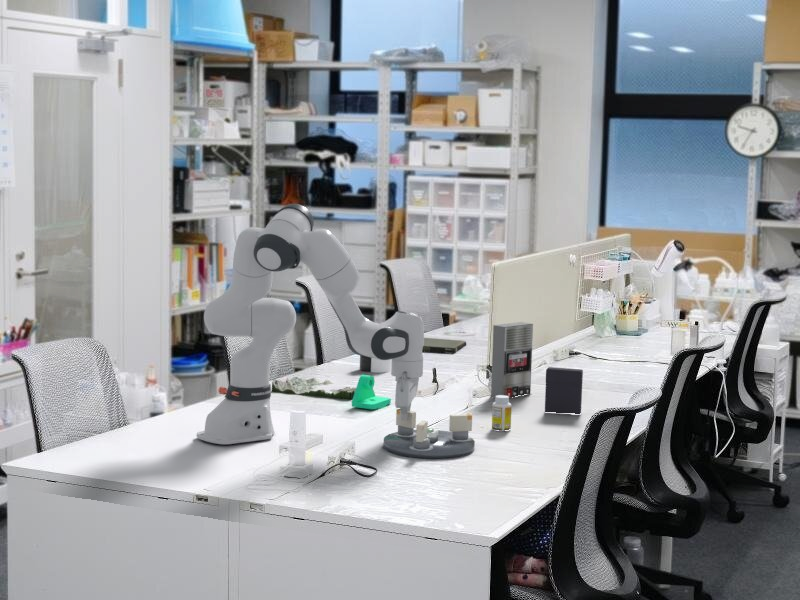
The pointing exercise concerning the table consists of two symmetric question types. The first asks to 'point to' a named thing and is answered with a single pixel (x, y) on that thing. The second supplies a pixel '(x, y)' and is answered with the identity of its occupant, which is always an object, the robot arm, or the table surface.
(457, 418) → the knob right
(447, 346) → the network switch
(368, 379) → the camera mount
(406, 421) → the cream block orange corner
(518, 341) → the cassette tape recorder
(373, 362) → the white cylinder
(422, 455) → the tribrach disc
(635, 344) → the table surface
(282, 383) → the topographic map model
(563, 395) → the calculator
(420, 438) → the knob left
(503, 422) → the supplement bottle
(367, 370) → the supplement bottle
